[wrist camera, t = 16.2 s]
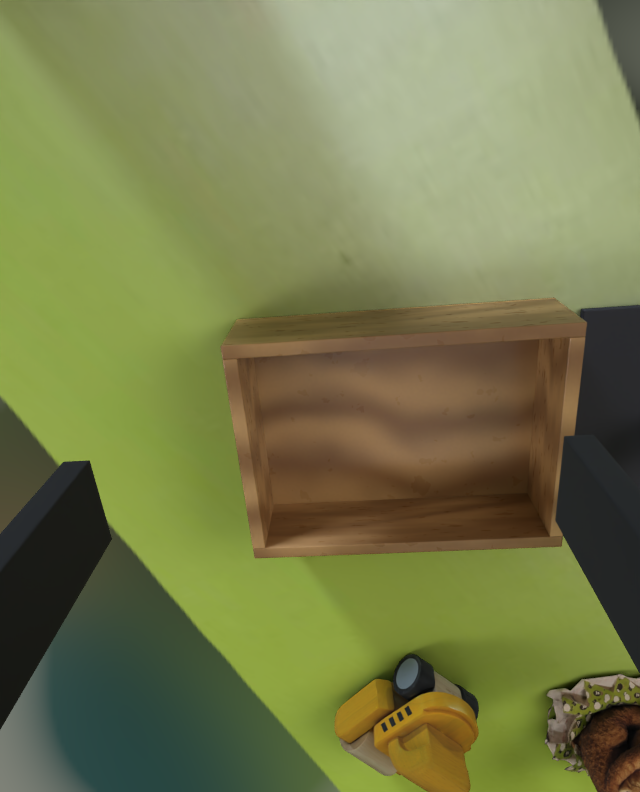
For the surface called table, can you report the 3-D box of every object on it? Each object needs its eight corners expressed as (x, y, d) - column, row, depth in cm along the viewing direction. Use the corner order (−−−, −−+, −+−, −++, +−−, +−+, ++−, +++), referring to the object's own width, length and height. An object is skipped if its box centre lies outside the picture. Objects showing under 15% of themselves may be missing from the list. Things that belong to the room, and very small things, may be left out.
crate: (236, 319, 44) (220, 346, 38) (554, 297, 42) (587, 322, 36) (264, 511, 51) (254, 558, 45) (536, 499, 49) (561, 547, 44)
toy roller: (327, 707, 61) (324, 812, 52) (424, 637, 57) (440, 738, 47) (386, 745, 63) (393, 852, 54) (484, 681, 59) (510, 786, 49)
